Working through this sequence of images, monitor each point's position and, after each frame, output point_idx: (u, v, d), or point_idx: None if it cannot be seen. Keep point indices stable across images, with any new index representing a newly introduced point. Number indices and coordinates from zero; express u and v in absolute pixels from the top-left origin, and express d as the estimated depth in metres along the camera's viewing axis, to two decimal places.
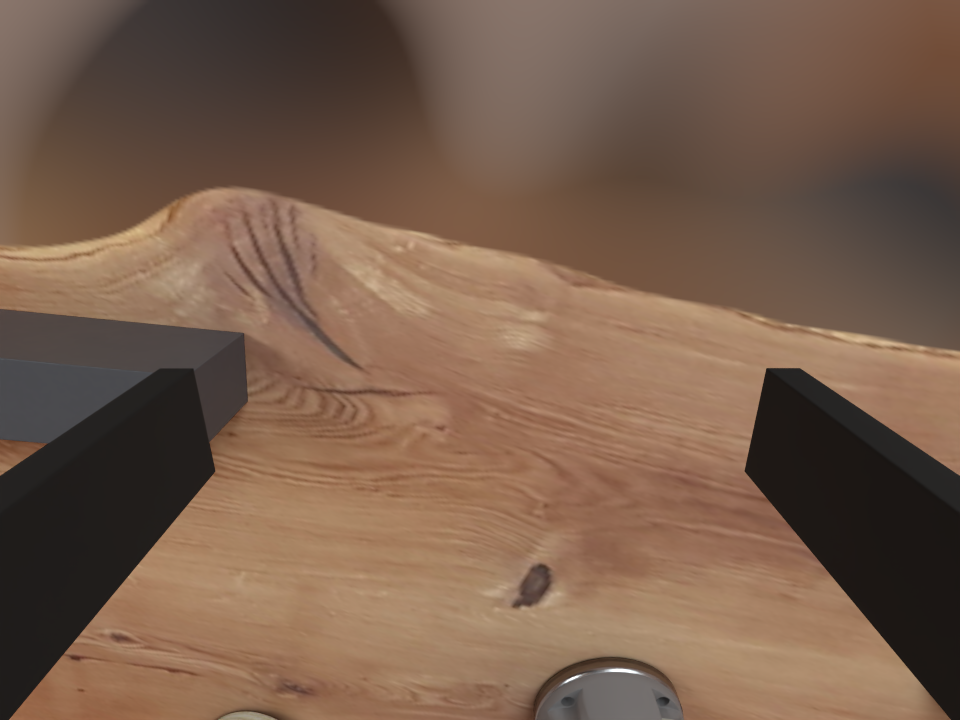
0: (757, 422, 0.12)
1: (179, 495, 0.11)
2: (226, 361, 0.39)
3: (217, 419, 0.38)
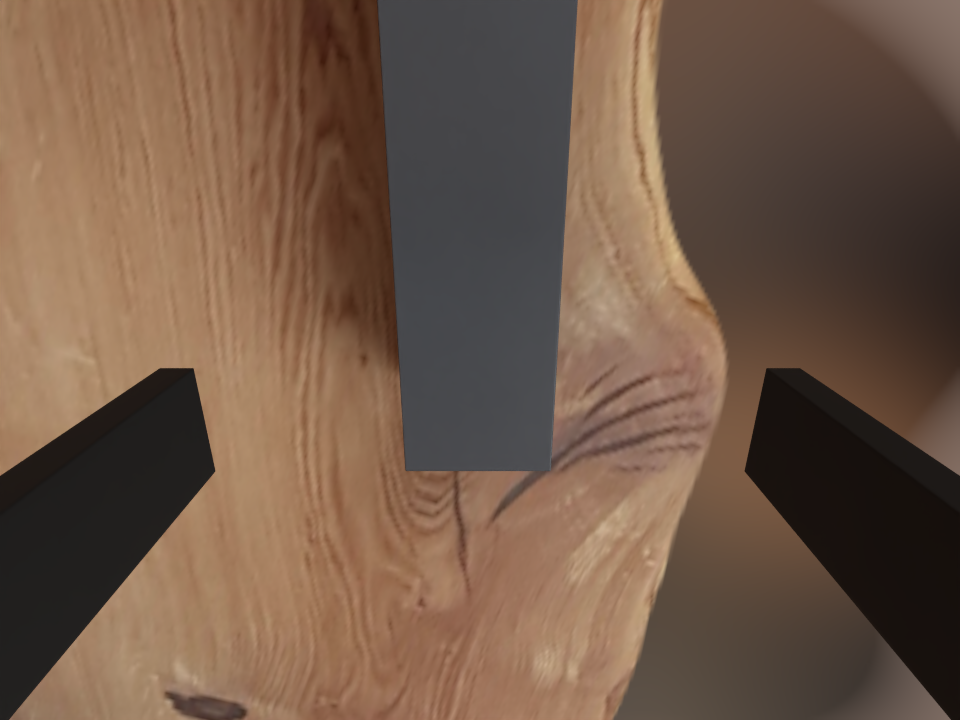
0: (756, 422, 0.12)
1: (179, 495, 0.11)
2: None
3: None
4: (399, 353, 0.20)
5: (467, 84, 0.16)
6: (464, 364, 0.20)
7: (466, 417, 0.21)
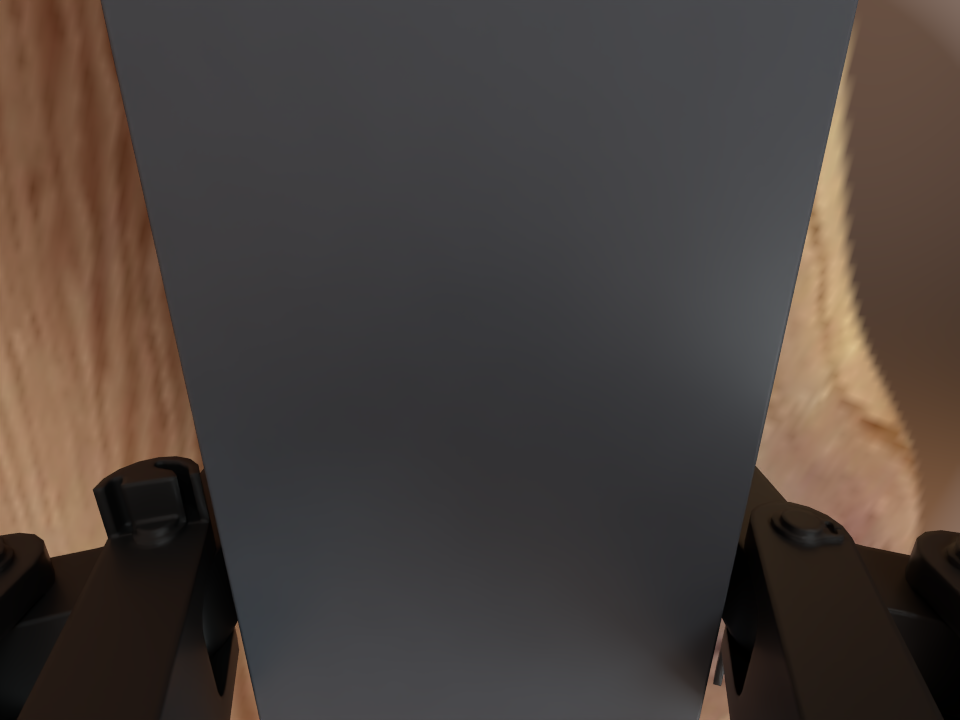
0: None
1: None
2: None
3: None
4: (260, 712, 0.07)
5: None
6: None
7: None
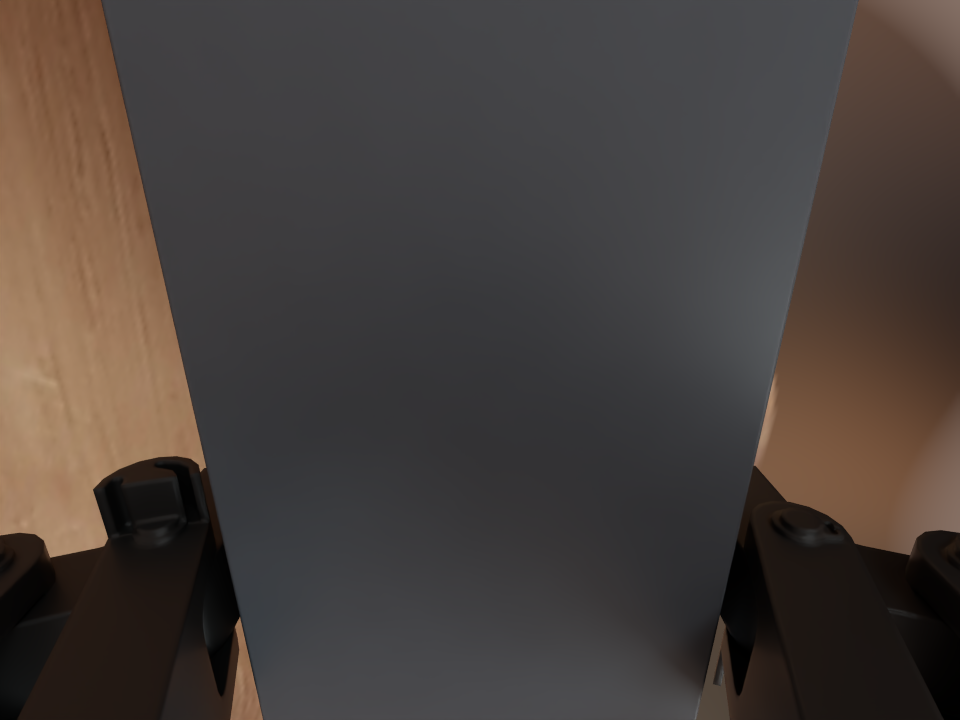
0: None
1: None
2: None
3: None
4: (263, 708, 0.07)
5: None
6: None
7: None
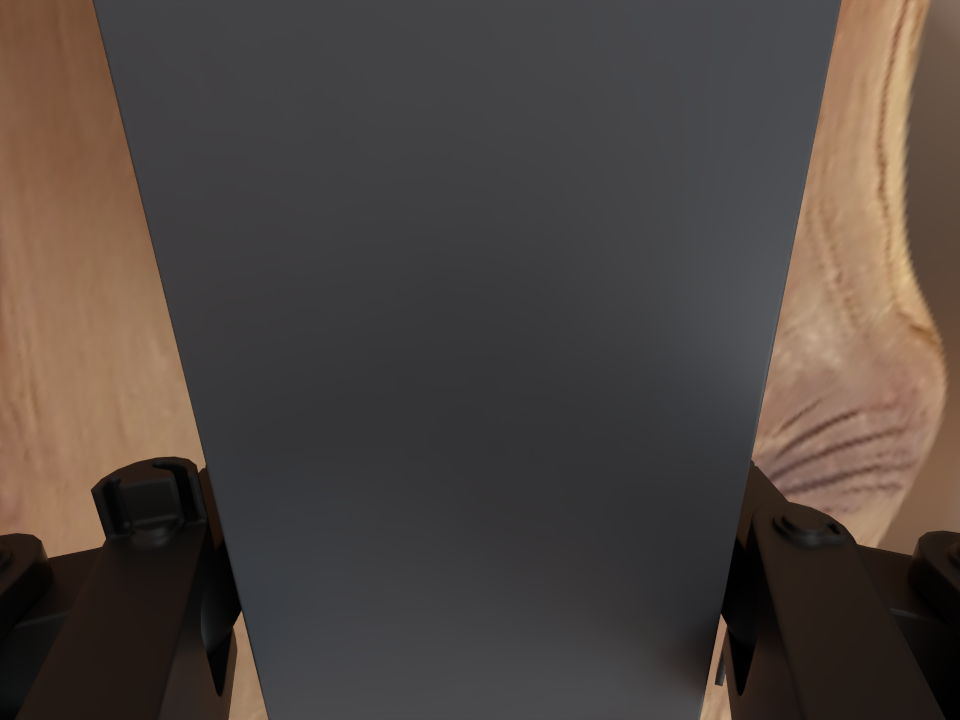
0: None
1: None
2: None
3: None
4: (267, 706, 0.07)
5: None
6: None
7: None
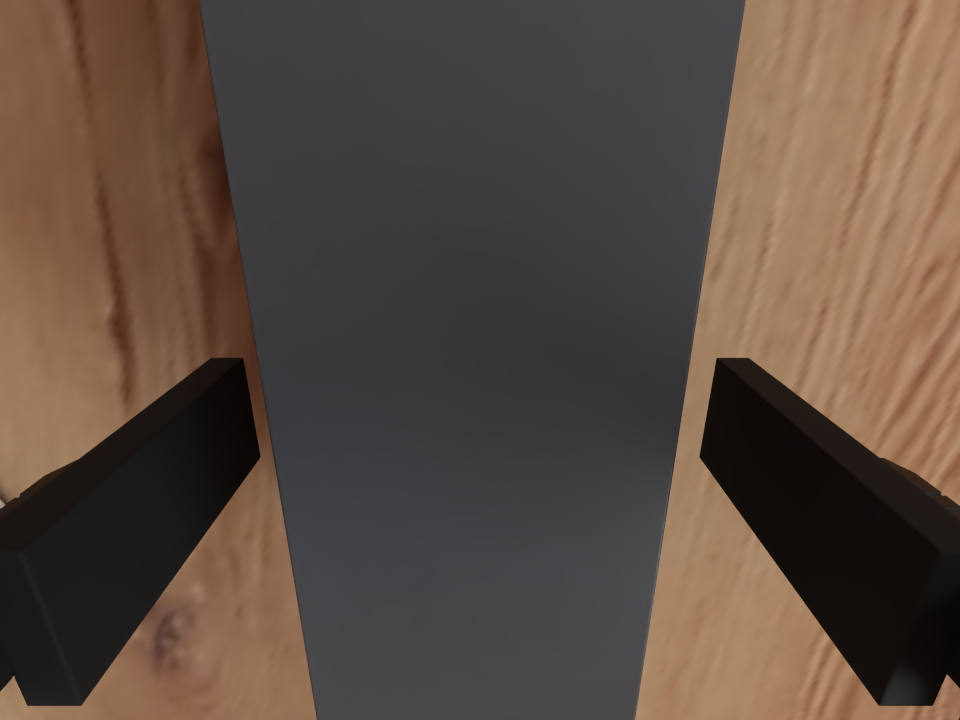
0: (709, 410, 0.13)
1: (232, 478, 0.12)
2: None
3: None
4: (299, 600, 0.09)
5: None
6: (447, 621, 0.09)
7: (451, 713, 0.10)
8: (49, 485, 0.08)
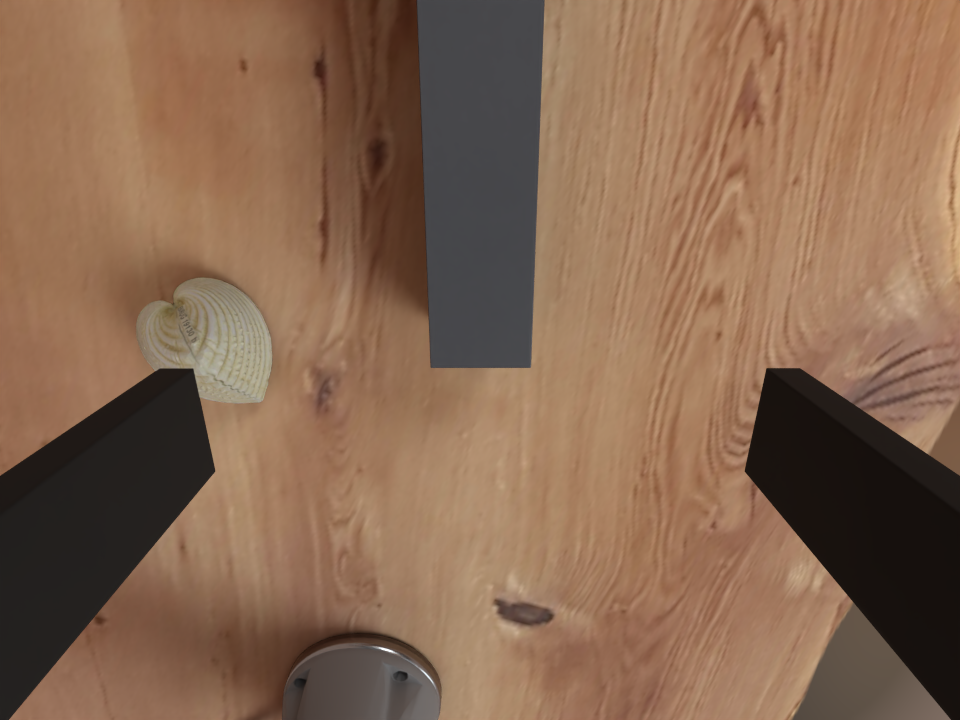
0: (757, 422, 0.12)
1: (179, 495, 0.11)
2: None
3: None
4: (428, 282, 0.29)
5: (473, 104, 0.26)
6: (472, 290, 0.29)
7: (472, 328, 0.30)
8: None
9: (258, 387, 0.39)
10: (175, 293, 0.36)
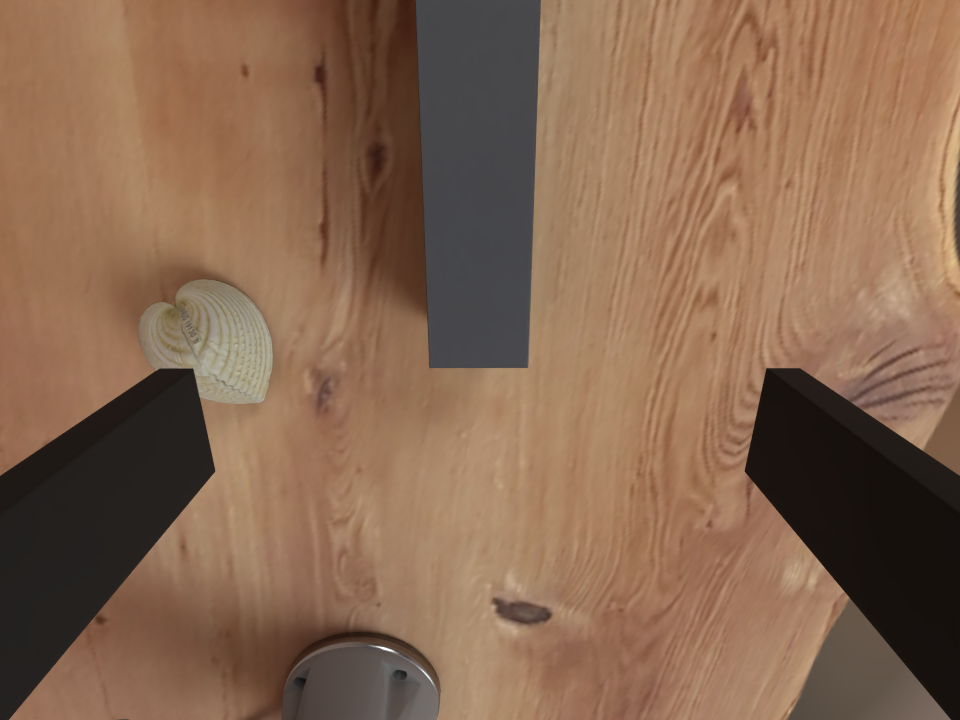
0: (757, 422, 0.12)
1: (179, 495, 0.11)
2: None
3: None
4: (426, 284, 0.30)
5: (471, 109, 0.27)
6: (470, 291, 0.30)
7: (470, 329, 0.31)
8: None
9: (259, 388, 0.39)
10: (177, 294, 0.36)
